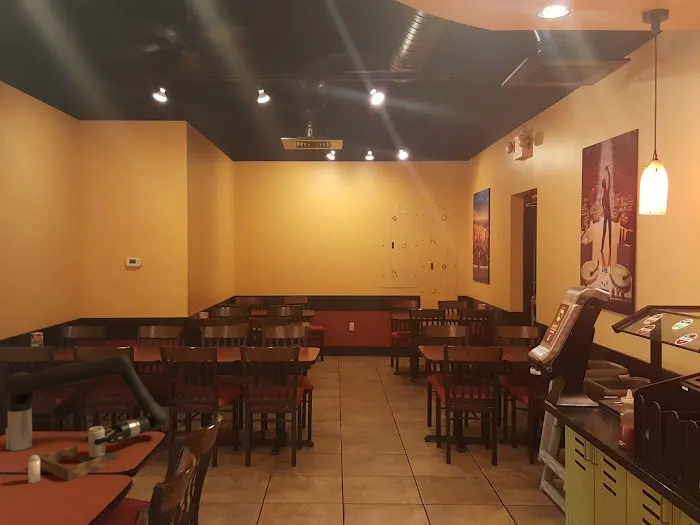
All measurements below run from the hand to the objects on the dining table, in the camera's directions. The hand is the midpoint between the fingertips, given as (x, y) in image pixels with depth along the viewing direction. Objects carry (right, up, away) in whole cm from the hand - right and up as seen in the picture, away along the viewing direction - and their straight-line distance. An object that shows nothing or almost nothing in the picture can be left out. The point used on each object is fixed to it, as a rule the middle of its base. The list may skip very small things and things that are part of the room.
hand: (91, 441), depth 231 cm
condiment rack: (-5, -8, -7) cm, 12 cm away
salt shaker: (-13, -9, -20) cm, 25 cm away
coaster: (+1, -8, +2) cm, 9 cm away
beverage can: (+2, -7, +2) cm, 8 cm away
